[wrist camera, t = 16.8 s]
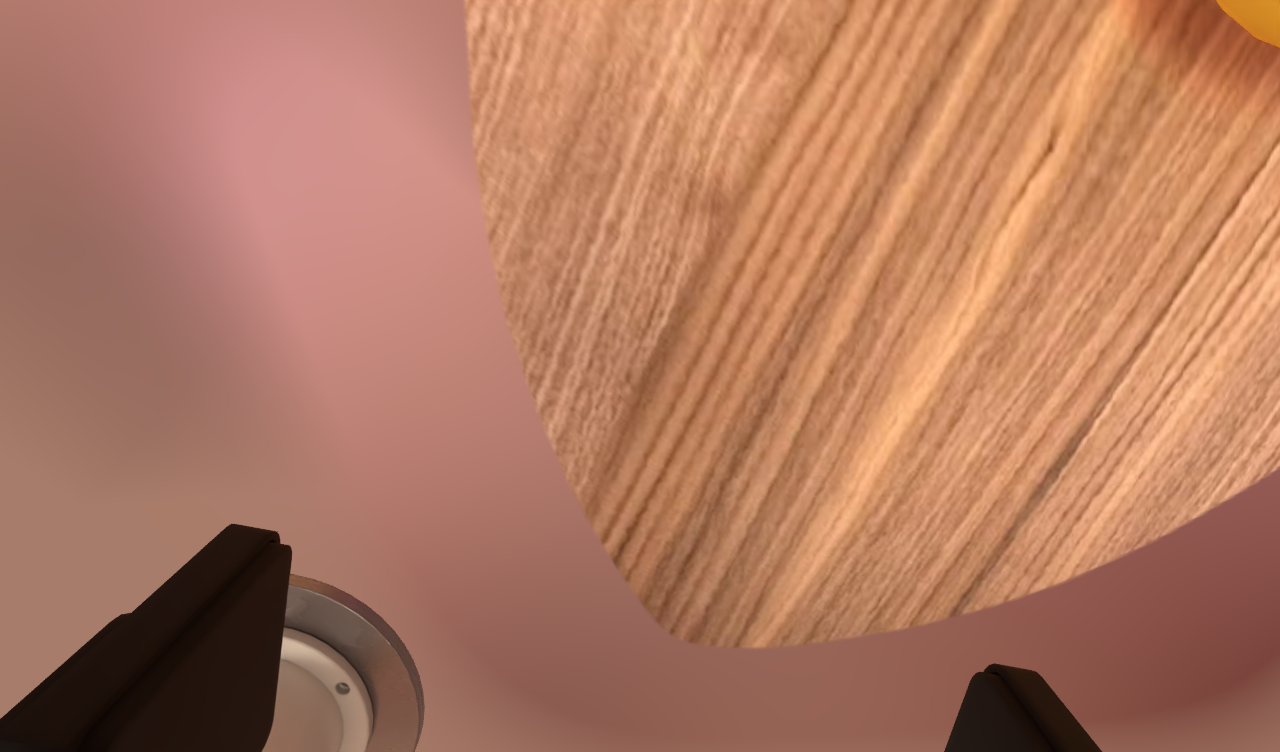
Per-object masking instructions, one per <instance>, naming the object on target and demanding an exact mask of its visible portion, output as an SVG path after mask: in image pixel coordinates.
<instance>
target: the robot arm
mask: <svg viewBox="0 0 1280 752" xmlns="http://www.w3.org/2000/svg"><path fill="white" fill-rule="evenodd" d="M291 560H292V550H291V547H290V546H289V545H284V544H280V537H279V534H278V533H277V532H276V531H271V530H265V529H260V528H254V527H249V526H243V525H237V524H231V525H229V526H227V527H226V528H225V529H224V530H223V531H222V532H220V534H218V535H217V536H216V537H215V538H214V539H213V540H212V541H210V542H209V543H208V544H207V545H206V546H205V547H204V548H203V549H202V550H201V551H200V552H198V553H197V554H196V555H195V556H194V557H193V558H192V559H191V560H189V561H188V562H187V563H186V564H185V565H184V566H183V567H182V568H181V569H180V570H178V571H177V572H176V573H175V574H174V575H173V576H172V577H171V578H169V579H168V580H167V581H166V582H165V583H164V584H163V585H162V586H161V587H160V588H158V589H157V590H156V591H155V592H154V593H153V594H152V595H151V596H150V597H148V598H147V599H146V600H145V601H144V602H143V603H142V604H141V605H140V606H138V607H137V608H136V609H135V610H134V611H133V612H132V613H127V614H122V615H120V616H118V617H117V618H115V619H114V620H112V621H111V622H110V623H109V624H107V625H106V626H105V627H104V628H103V629H102V630H101V631H99V632H98V633H97V634H96V635H95V636H94V637H93V638H92V639H90V640H89V641H88V642H87V643H86V644H85V645H84V646H82V647H81V648H80V649H79V650H78V651H77V652H76V653H75V654H74V655H72V656H71V657H70V658H69V659H68V660H67V661H66V662H64V664H62V665H61V666H60V667H59V668H58V669H57V670H55V671H54V672H53V673H52V674H51V675H50V676H49V677H47V678H46V679H45V680H44V681H43V682H42V683H41V684H40V685H38V686H37V687H36V688H35V689H34V690H33V691H32V692H31V693H29V694H28V695H27V696H26V697H25V698H24V699H23V700H21V701H20V702H19V703H18V704H17V705H16V706H15V707H13V708H12V709H11V710H10V711H9V712H8V713H7V714H6V715H4V716H3V717H2V718H1V719H0V752H366V749H367V747H368V744H369V741H370V738H371V735H372V729H373V711H372V704H371V700H370V697H369V694H368V692H367V689H366V686H365V684H364V683H363V681H362V680H361V678H360V676H359V675H358V673H357V671H356V670H355V669H354V668H353V667H352V666H351V665H350V663H349V662H348V661H347V660H346V659H345V658H344V657H343V656H342V655H340V654H339V653H338V652H337V651H335V650H334V649H333V648H331V647H330V646H329V645H327V644H325V643H324V642H322V641H320V640H318V639H316V638H315V637H313V636H311V635H308V634H305V633H302V632H299V631H297V630H294V629H290V628H284V623H285V614H286V605H287V596H288V587H289V578H290V569H291ZM944 752H1102V751H1101V750H1100V749H1099V747H1098V746H1097V745H1096V744H1095V742H1094V741H1093V740H1092V739H1091V737H1090V736H1089V735H1088V734H1087V732H1086V731H1085V730H1084V729H1083V727H1082V726H1081V725H1080V724H1079V722H1077V720H1076V719H1075V717H1074V716H1073V715H1072V714H1071V713H1070V711H1069V710H1068V709H1067V708H1066V706H1065V705H1064V704H1063V703H1062V701H1061V700H1060V699H1059V698H1058V697H1057V695H1056V694H1055V693H1054V691H1053V690H1052V689H1051V688H1050V686H1049V685H1048V684H1047V683H1046V681H1045V680H1044V679H1043V678H1042V677H1041V676H1040V675H1039V674H1038V673H1037V672H1035V671H1032V670H1027V669H1021V668H1015V667H1010V666H1005V665H1000V664H991V665H989V666H988V667H987V668H986V669H985V670H984V672H978V673H976V674H975V675H974V676H973V677H972V679H971V681H970V683H969V686H968V689H967V691H966V694H965V697H964V699H963V702H962V705H961V708H960V710H959V713H958V716H957V718H956V721H955V724H954V727H953V729H952V732H951V735H950V738H949V740H948V743H947V746H946V748H945V751H944Z"/></svg>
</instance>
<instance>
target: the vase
mask: <svg viewBox="0 0 1280 752" xmlns="http://www.w3.org/2000/svg"><path fill="white" fill-rule="evenodd" d="M1216 1H1217V2H1218V4H1219V6H1220V7H1221V9H1222V10H1223V11H1225V12H1226V13H1227V14H1228V15H1229V16H1230V17H1232V18H1233V19H1234V20H1235V21H1236V22H1237V23H1239V24H1240V25H1241V26H1242V27H1243V28H1244V29H1246V30H1247V31H1248V32H1249V33H1250V34H1251V35H1253V36H1254V37H1255V38H1257V39H1259V40H1261V41H1264V42H1266V43H1269V44H1271V45H1274V46H1276V47H1279V48H1280V0H1216Z"/></svg>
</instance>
